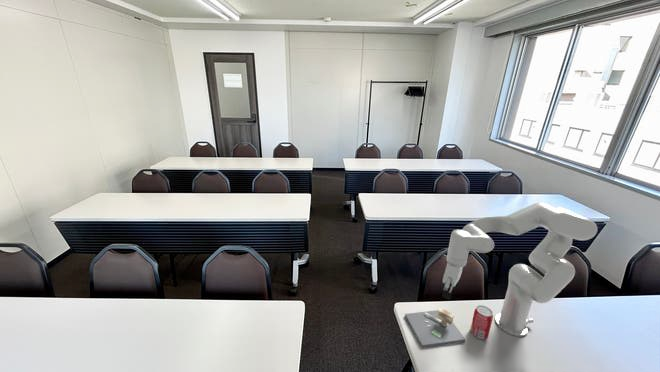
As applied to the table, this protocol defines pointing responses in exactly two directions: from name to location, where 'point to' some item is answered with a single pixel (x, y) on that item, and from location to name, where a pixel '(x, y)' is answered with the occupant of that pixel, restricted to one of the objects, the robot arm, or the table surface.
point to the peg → (443, 317)
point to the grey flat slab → (433, 330)
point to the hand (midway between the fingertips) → (449, 292)
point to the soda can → (481, 322)
